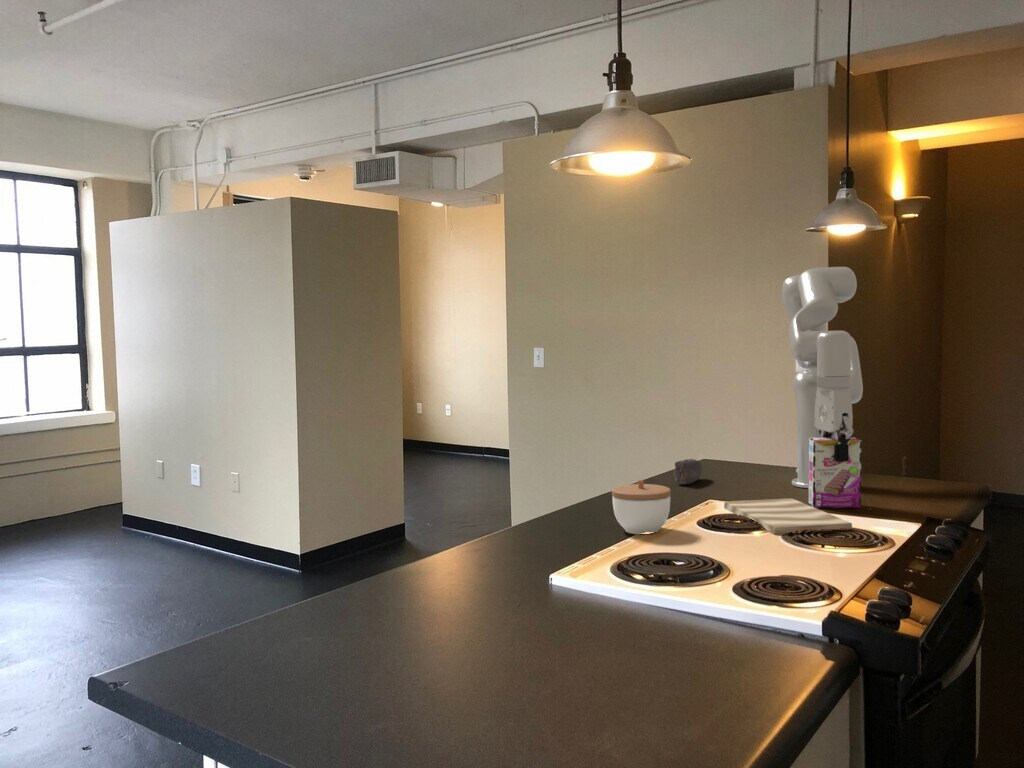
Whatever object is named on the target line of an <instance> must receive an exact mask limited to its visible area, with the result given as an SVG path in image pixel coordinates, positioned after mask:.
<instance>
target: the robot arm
mask: <svg viewBox="0 0 1024 768" xmlns="http://www.w3.org/2000/svg"><path fill="white" fill-rule="evenodd" d="M857 284H858V282H857V277H856V274H855V272H854V271H853V270H852V269H851V268H850V267H848V266H830V267H828V266H826V267H813V268H809V269H806V270H804V271H803V272H801V274H796V275H792V276H789V277H787V278H786V279H785V280H784V281H783V283H782V287H781V288H782V289H781V292H782V293H781V295H782V302H783V306H784V309H785V311H786V314H787V316H788V318H789V320H790V325H789V330H788V335H789V336H788V337H789V344H790V350H791V353H792V357H793V358H794V359H795V360H796V362H797V364H798V365H799V367H801V368H802V369H804V370H802V371H799V372H797V373H796V374H795V376H794V378H793V382H792V383H793V385H792V386H793V393H794V400H795V406H796V435H797V436H796V444H797V447H796V449H797V453H796V454H797V458H796V459H797V468H796V469H795V472H796V473H797V478H796V477H795V478H793V479H792V480H791V484H792V486H794V487H797V488H804V489H809V438H835V439H836V444H835V445H834V454H835V461H836V462H842V461H848V460H849V451H848V444H849V443H850V441H849V440H850V438H852V436H853V434H854V429H853V422H854V421H853V417H854V416H853V404H857V403H858V402H860V400H861V399H862V398H863V392H864V386H863V385H864V384H863V377H862V369H861V363H860V356H859V355H860V354H859V349H858V345H857V343H856V340H855V339H854V337H853V336H852V335H850V333H849V332H847V331H845V330H826V329H827V328H826V324H827V323H829V322H830V321H831V320H832V321H833V318H835V317H836V316H837V313H838V310H839V304H842V303H845V302H847V301H850V300H851V299H852V298H853V297H854V296H855V295H856V291H857ZM840 435H841V436H840Z"/></svg>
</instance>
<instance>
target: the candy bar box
mask: <svg viewBox="0 0 1024 768" xmlns="http://www.w3.org/2000/svg"><path fill="white" fill-rule="evenodd" d="M849 441H850V443H849V444H848V451H849V460H848V461H842V462H836V461H835V454H834V445H835V444H836V439H835V437H834V438H809V488H808V505H809V506H811V507H814V508H816V509H860V508H861V506H862V440H861V439H859V438H857V437H851V438H850V440H849Z"/></svg>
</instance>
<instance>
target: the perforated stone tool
mask: <svg viewBox="0 0 1024 768" xmlns="http://www.w3.org/2000/svg"><path fill="white" fill-rule="evenodd" d="M674 467H675V468H674V471H673V477H674V480H675V483H676V484H679V485H682V486H683V485H691V484H693V483H695V482H697V481H698V480H699V479H700V478H701V475H702V473H703V466H702V463H701V462H700V460H697V459H693V458H689V459H683V460H678V461H676V462H674Z"/></svg>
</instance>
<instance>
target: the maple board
mask: <svg viewBox="0 0 1024 768" xmlns="http://www.w3.org/2000/svg"><path fill="white" fill-rule="evenodd" d="M723 503H724V504H723V505H724V507H723V508H724V509H725V510H727V511H730V512H731V513H733V514H735V515H736V516H739V515H741V516H745V517H748V518H750V519H752V520H754V521H756V522H758V523H759V524H761V525H762V526H763V527H764V528H765V529H766V530H765V529H764V530H765V531H767V532H768V533H771V534H772V535H778V536H779V535H786V534H785V533H789V532H793V531H800V530H810V529H811V530H821V529H840V528H852V529H853V523H852V522H850V521H848V520H845V519H843V518H841V517H838V516H835V515H833V514H830V513H828V512H826V511H823V510H821V509H820V508H814V507H812V506H811V505H809V504H806V503H804V502H802V501H799V500H797V499H794V498H792V497H790V498H771V499H769V498H767V499H753V500H752V499H750V500H749V499H748V500H733V501H732V500H731V501H724V502H723Z"/></svg>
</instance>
